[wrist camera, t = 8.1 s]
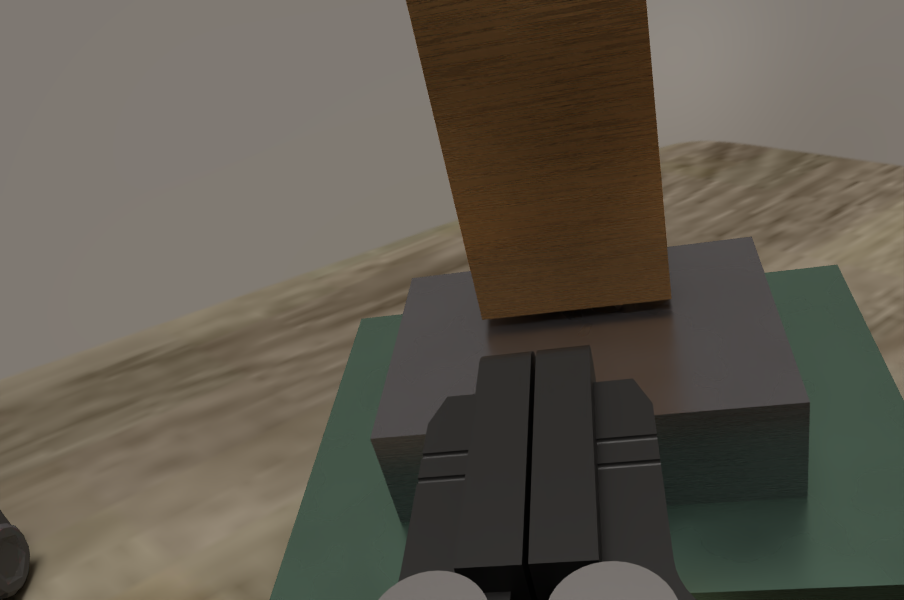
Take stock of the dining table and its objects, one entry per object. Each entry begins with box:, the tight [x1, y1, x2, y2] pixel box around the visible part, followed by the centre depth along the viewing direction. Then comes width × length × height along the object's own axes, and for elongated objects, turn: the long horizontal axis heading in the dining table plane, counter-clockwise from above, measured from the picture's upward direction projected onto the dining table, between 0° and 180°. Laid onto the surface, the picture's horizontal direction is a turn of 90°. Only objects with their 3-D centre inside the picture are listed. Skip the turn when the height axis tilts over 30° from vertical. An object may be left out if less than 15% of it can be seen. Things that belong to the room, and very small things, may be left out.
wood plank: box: [406, 0, 672, 320], centre depth 23 cm, size 5×8×9 cm, turn 174°
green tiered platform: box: [270, 237, 904, 600], centre depth 23 cm, size 16×12×7 cm
